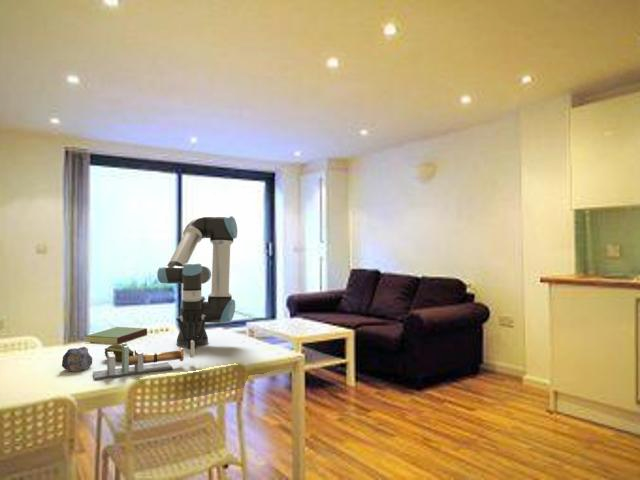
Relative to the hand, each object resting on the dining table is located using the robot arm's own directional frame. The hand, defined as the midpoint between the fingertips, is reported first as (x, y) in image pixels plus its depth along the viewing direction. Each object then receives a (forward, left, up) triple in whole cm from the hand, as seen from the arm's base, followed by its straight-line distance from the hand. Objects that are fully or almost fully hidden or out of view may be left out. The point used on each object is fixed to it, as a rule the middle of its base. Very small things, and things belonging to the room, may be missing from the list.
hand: (191, 356), depth 191 cm
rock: (-15, -42, -4) cm, 45 cm away
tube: (0, -14, -1) cm, 14 cm away
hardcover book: (-71, -21, -4) cm, 74 cm away
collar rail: (0, -23, -3) cm, 23 cm away
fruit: (-22, -26, -4) cm, 34 cm away
